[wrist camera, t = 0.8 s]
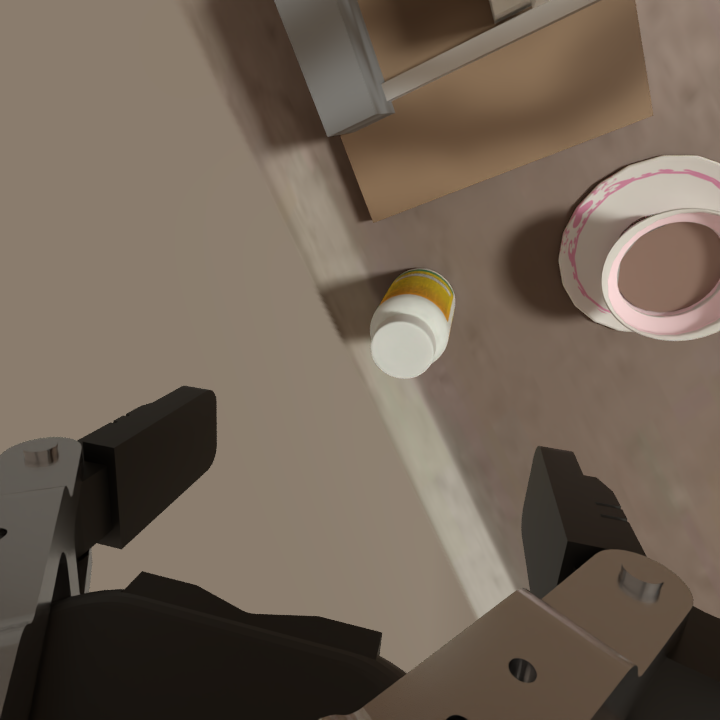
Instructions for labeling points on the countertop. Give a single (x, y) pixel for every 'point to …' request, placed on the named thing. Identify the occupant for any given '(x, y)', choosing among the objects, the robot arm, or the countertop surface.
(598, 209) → the teacup
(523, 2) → the gauge slider
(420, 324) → the supplement bottle
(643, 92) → the gauge board
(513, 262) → the countertop surface
